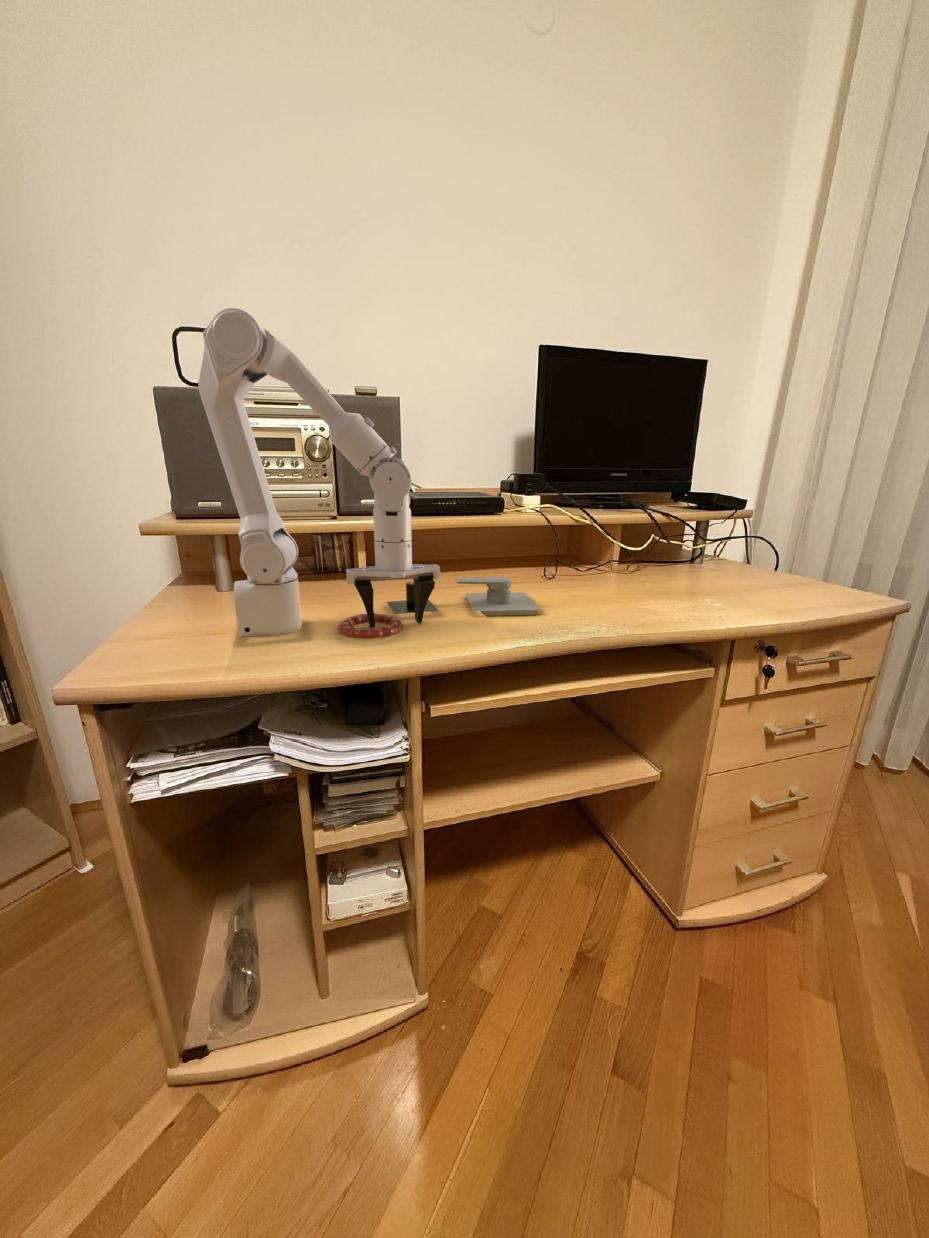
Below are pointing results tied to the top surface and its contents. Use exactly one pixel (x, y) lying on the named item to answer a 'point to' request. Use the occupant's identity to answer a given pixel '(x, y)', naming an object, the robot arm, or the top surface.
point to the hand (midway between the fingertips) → (395, 623)
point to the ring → (349, 631)
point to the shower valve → (499, 598)
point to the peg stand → (409, 602)
